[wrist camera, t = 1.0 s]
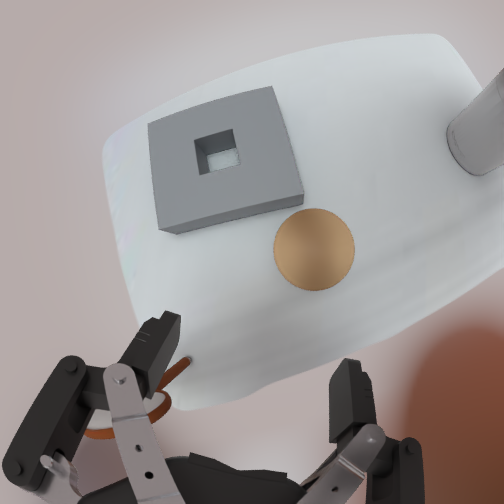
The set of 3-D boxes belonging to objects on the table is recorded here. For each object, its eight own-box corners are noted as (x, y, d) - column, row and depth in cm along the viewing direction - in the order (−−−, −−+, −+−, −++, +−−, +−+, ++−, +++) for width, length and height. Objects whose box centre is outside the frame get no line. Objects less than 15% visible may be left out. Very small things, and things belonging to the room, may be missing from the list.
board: (275, 106, 34) (272, 85, 29) (302, 204, 32) (304, 193, 28) (163, 138, 36) (147, 123, 31) (176, 234, 35) (158, 229, 30)
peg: (324, 225, 32) (344, 200, 19) (335, 274, 32) (362, 281, 19) (275, 236, 33) (264, 217, 20) (286, 285, 32) (282, 299, 19)
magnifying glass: (216, 345, 33) (132, 425, 13) (220, 357, 33) (145, 446, 13) (159, 359, 34) (57, 424, 14) (163, 371, 34) (67, 441, 14)
